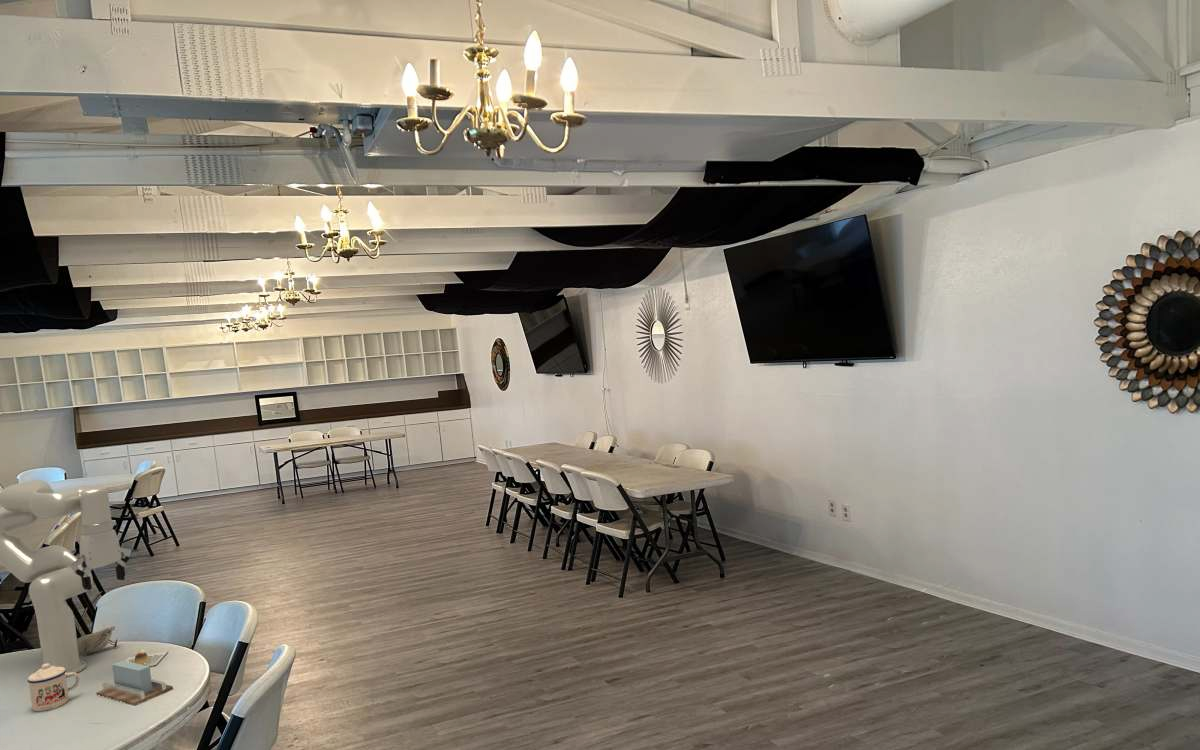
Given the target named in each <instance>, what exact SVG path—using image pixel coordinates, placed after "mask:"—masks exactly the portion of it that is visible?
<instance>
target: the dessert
mask: <svg viewBox="0 0 1200 750" xmlns="http://www.w3.org/2000/svg"><path fill="white" fill-rule="evenodd" d="M168 652H169V650H166V651H161V652H160V651H159V652H154V653H147V652H146V651H145V650H144V649H142V648H141V649H140V650H139V651H138V653H136V654H135V655H133V656H128V657H127V658H126V659H125V660H124V661H127V662H128V661H129V660H130V661H132V660H131V659H133V660H134V662H133V663H136V664H143V665H145V664H144V663H146V664H148V663H150V662H151V659H150V657H148V656H152V657H155V656H154V655H158V656H162V655H161V654H163V656H162V657H161V658H160V657H159V659H158V660H156V662H155V663H154V664H150V665H148V666H151V667H155V666H156V665H157V664H158V663H159V662H160V661H161V660H162V659H163V657H164V656H165V655H167V653H168ZM130 661H129V662H130ZM149 661H150V662H149ZM147 662H148V663H147ZM154 665H155V666H154Z"/></svg>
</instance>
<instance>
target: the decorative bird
mask: <svg viewBox="0 0 1200 750" xmlns="http://www.w3.org/2000/svg"><path fill="white" fill-rule="evenodd" d="M115 629H116V625H113V626H110V627H106V628H103V630H100V631H96V632H93V633H89V634H86V635H83V636H80V637H77V644H78V651H79V656H80V655H81V656H83V655H89V654H91V653H94V652H98V651H100V650H101V649H103V648H105V647H106V646H108V644H110V645H112V646H114V649H116V647H117V643H118V639H119V638H118V637H117V638H116V639H115V641H112V640H111V638H112V637H111V636H112V634H113V631H115Z"/></svg>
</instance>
